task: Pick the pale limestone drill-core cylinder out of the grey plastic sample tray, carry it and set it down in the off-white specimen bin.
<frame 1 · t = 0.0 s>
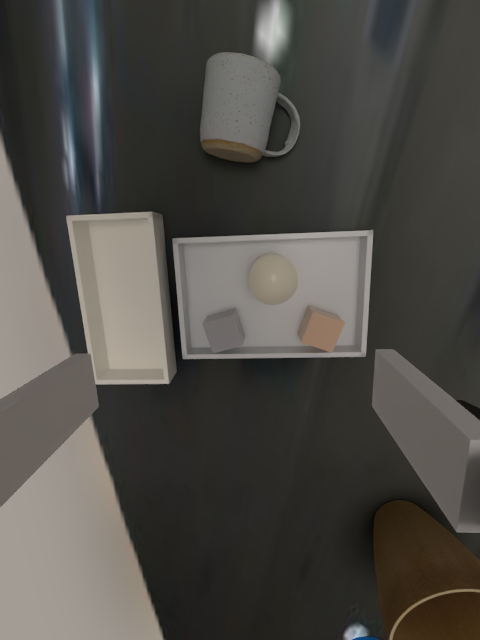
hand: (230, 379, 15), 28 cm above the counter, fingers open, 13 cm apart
plant pot: (398, 517, 49), on the counter
ceramic mug: (251, 126, 37), on the counter
specimen bin: (133, 298, 43), on the counter
sample tray: (270, 294, 42), on the counter
orange cube: (317, 324, 42), resting on sample tray
limestone core: (270, 272, 41), resting on sample tray
gray cube: (226, 326, 43), resting on sample tray
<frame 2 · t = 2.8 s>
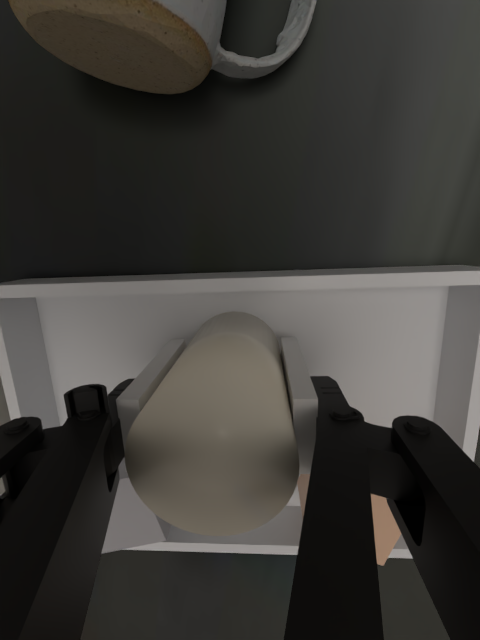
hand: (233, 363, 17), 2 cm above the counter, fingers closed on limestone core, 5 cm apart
ceramic mug: (191, 1, 15), on the counter
sample tray: (237, 401, 19), on the counter
orange cube: (340, 465, 19), resting on sample tray
limestone core: (235, 355, 18), resting on sample tray, touching gripper
gray cube: (144, 462, 20), resting on sample tray
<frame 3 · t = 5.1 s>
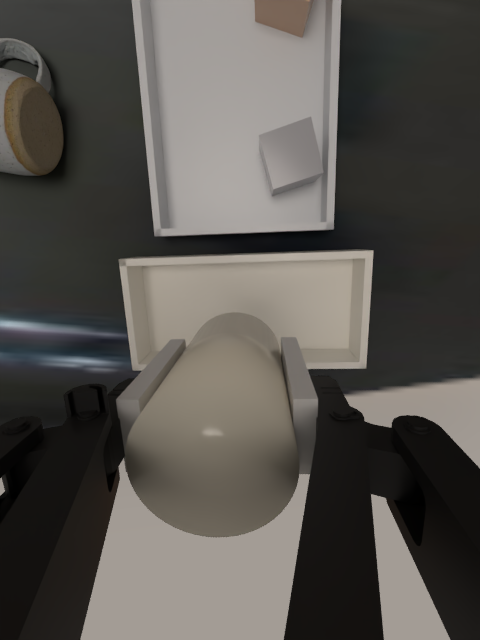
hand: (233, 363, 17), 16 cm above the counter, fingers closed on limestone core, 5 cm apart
ceramic mug: (25, 120, 29), on the counter
specimen bin: (246, 305, 32), on the counter
sample tray: (239, 92, 27), on the counter
orange cube: (287, 0, 25), resting on sample tray
limestone core: (235, 356, 18), point 14 cm above the counter, touching gripper
gray cube: (287, 165, 28), resting on sample tray
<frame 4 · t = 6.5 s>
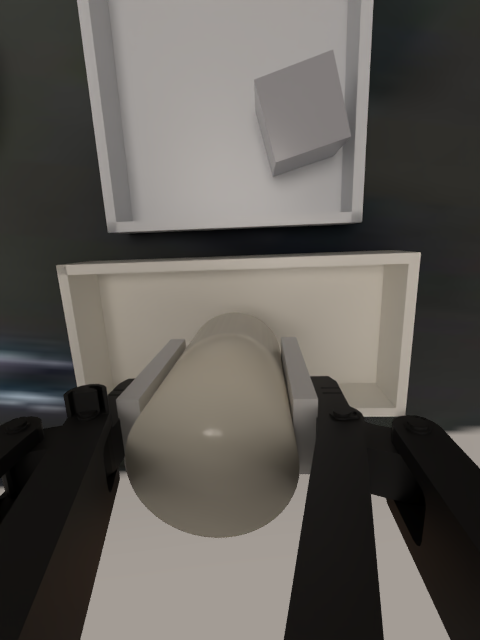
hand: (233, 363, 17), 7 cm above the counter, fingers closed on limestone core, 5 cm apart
specimen bin: (239, 326, 24), on the counter
sample tray: (227, 28, 19), on the counter
limestone core: (235, 356, 18), point 6 cm above the counter, touching gripper
gray cube: (294, 133, 20), resting on sample tray
when the fingers open (3 cm above the counter, at t = 7.7 s): limestone core drops 1 cm, resting on specimen bin.
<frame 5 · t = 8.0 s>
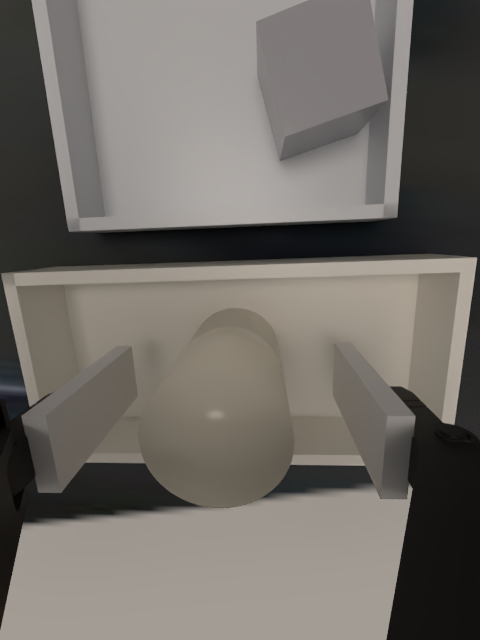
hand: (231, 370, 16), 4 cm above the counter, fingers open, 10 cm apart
specimen bin: (237, 346, 19), on the counter
limestone core: (235, 349, 19), resting on specimen bin
gray cube: (307, 105, 16), resting on sample tray
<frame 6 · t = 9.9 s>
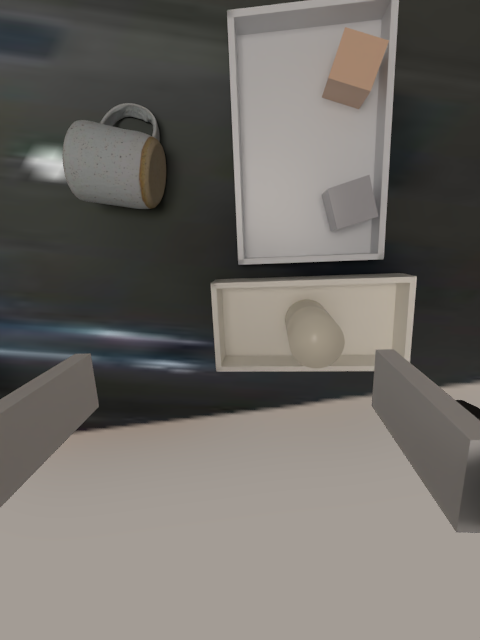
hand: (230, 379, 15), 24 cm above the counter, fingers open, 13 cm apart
ceramic mug: (134, 163, 37), on the counter
specimen bin: (306, 318, 39), on the counter
sample tray: (306, 150, 34), on the counter
orange cube: (347, 81, 32), resting on sample tray
limestone core: (306, 319, 38), resting on specimen bin
gray cube: (344, 207, 35), resting on sample tray
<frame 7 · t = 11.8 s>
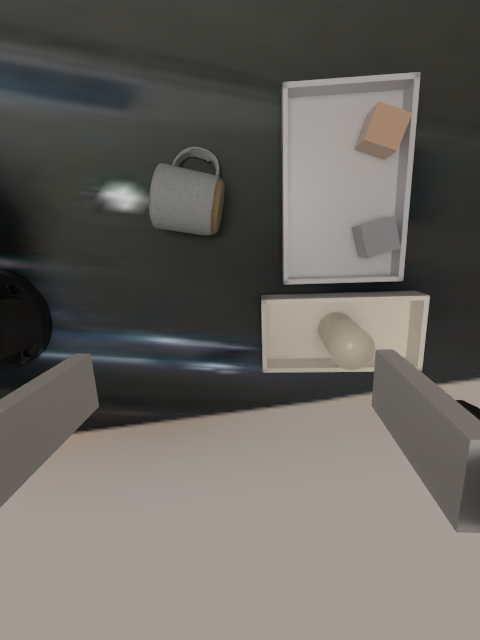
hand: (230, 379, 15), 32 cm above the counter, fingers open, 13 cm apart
ceramic mug: (194, 194, 43), on the counter
specimen bin: (335, 327, 46), on the counter
sample tray: (340, 191, 42), on the counter
orange cube: (375, 137, 40), resting on sample tray
limestone core: (335, 328, 46), resting on specimen bin
gray cube: (369, 237, 43), resting on sample tray
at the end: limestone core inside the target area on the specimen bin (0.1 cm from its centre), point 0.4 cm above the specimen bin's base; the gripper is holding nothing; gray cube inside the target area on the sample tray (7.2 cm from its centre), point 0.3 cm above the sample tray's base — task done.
